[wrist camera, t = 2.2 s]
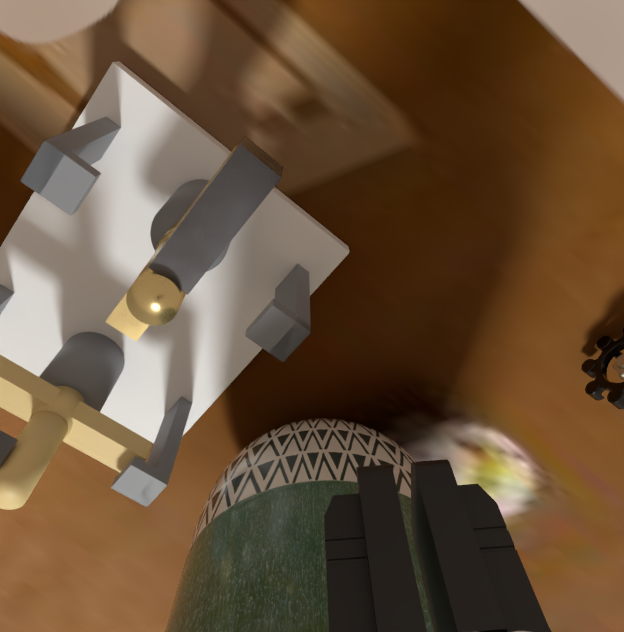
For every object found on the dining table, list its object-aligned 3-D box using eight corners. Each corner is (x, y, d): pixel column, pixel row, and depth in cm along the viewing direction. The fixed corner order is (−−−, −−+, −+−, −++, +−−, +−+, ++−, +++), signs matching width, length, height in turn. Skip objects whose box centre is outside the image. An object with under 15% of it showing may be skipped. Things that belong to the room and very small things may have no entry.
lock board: (171, 442, 45) (117, 605, 32) (-39, 318, 39) (-206, 455, 26) (348, 246, 37) (372, 355, 24) (119, 61, 32) (-7, 75, 19)
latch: (148, 326, 32) (105, 406, 25) (113, 303, 32) (58, 379, 25) (289, 147, 28) (285, 184, 21) (252, 116, 27) (234, 142, 20)
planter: (216, 546, 50) (163, 855, 31) (192, 368, 42) (97, 647, 22) (425, 541, 50) (501, 846, 31) (445, 362, 42) (567, 635, 22)
